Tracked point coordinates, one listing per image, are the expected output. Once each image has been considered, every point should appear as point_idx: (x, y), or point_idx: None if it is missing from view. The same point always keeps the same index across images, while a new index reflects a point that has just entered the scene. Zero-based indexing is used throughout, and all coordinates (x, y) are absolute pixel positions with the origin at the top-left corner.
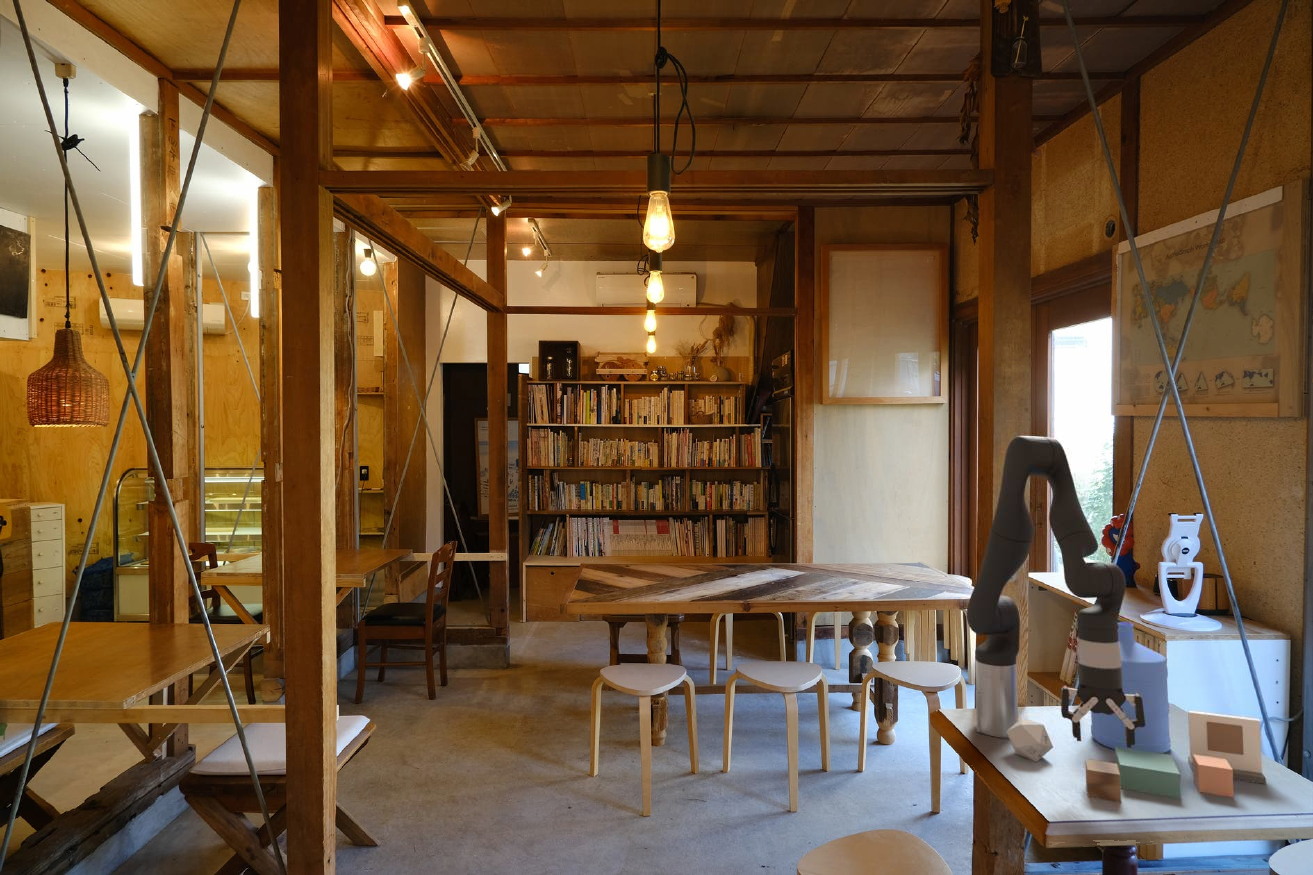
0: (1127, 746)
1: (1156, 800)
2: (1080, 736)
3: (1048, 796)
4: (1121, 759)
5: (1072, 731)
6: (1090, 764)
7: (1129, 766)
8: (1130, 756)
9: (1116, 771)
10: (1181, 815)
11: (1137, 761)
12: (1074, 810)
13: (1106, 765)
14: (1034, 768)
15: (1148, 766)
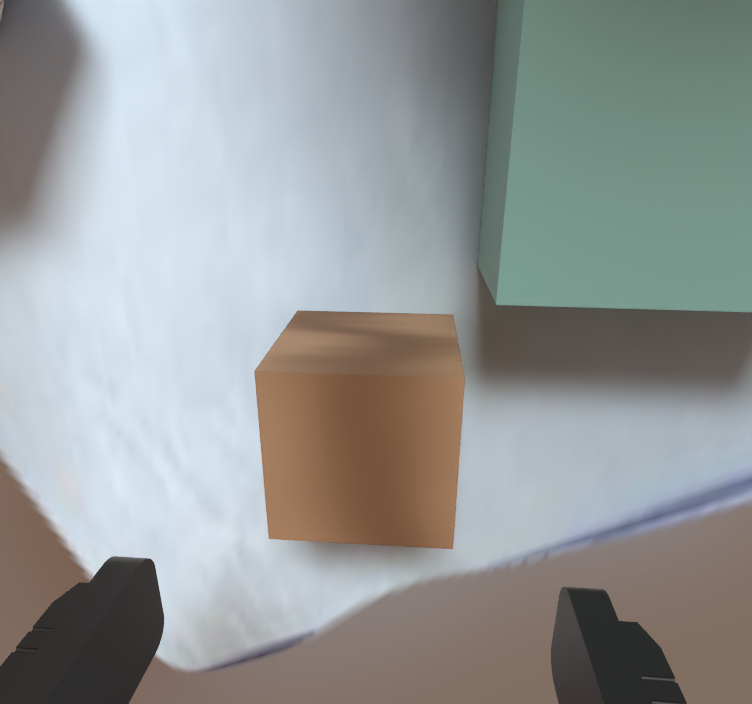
0: (554, 673)
1: (629, 361)
2: (137, 681)
3: (142, 501)
4: (530, 179)
5: (45, 627)
6: (288, 452)
7: (558, 304)
8: (628, 62)
9: (439, 507)
10: (693, 485)
11: (655, 170)
12: (250, 585)
13: (389, 431)
14: (16, 175)
15: (710, 251)
